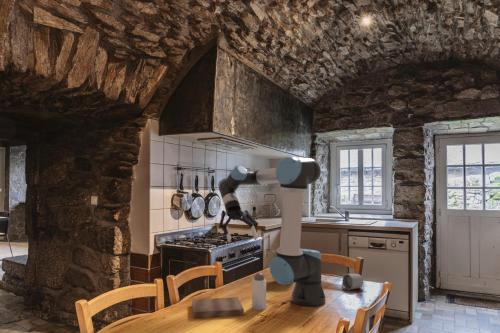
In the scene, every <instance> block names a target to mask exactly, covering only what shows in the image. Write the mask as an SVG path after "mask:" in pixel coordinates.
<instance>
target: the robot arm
mask: <svg viewBox="0 0 500 333" xmlns="http://www.w3.org/2000/svg"><path fill="white" fill-rule="evenodd" d="M321 169H322V168H321V166H320V164H319V163H318V161H316V160H315V159H313V158H309V157H300V156H299V157H298V156H286V157H284V158H282V159H281V160H280V161H279V162H278V164H277V166H276V167H274V168H266V169H257V170H248V169H247V168H245V167H244V166H242V165H235V167H233V169H232V170H230V173H229V175H228V176H227V177H224V178H221V180H219V181H218V183H217V185H218V191H219V193H220V196H221V199H222V203H223V206H224V208H225V210H224V209H223V210H222V211H221V214H220V216H221V218H220V220H219V225H218V228H217V229H219V230H220V229H221V231H223V234H224V235H226V239H227V242H229V243H230V242H231V240H232V235H231V232H230V228H229V226H228V225H229V224H230V222H231V221H241V222H243V223H245V224H246V225H247V226H248V227H250V231H251V233H252V236H253V237H252V238H253V239H254V241H257V239H258V237H259V236H258V229H257V227H258V225H259V222H258V221H257V220H256V219H255V218H254V217H253V216H252V215H251V214H250V213H249V211H248V210H247V209H246V210H244V211H243V210H242V206H241V204H240V202H239V199H238V196H237V194H236V191H237V190H238V189H239V187H240V186H242V185H243V186H245V185H246V186H248V185H249V186H261V185H268V184H279V183H280V189H281V190H282V192H283V194H282V206H281V207H282V210H281V224H280V226H281V227H280V241H279V247H277V249H275V250H276V257H273V258H272V259H271V260H270V262H269V273H270V276H272V278H273V280H274V281H275V282H276V283H278V285H279V284H280V285H291V284H293V283H295V284H294V287H293V290H292V293H291V301H292V302H293V304H296V305H298V306H302V307H303V306H304V307H319V306H323V305H325V304H326V294H325V292H324V288H323V285H322V261H323V260H322V253H321V252H320V251H319V250H315V249H307V248H301V235H302V220H303V208H304V207H303V204H304V194H305V192H306V191H307V190H308V185H312V184H314V183H315V182H317V181H318V180H319V179H320V178H321V175H322V174H321V173H322V170H321ZM226 216H227V217H228V218H227V219H226V221H225V217H226ZM224 221H225V223H224Z"/></svg>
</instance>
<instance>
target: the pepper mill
mask: <svg viewBox="0 0 500 333" xmlns="http://www.w3.org/2000/svg"><path fill="white" fill-rule="evenodd" d="M251 300H252V301H251V308H252V310H254V311H264V310H266V309H267V279H266V278H265V275H264V274H263V273H261V272H257V273H255V275H254V276H253V278H252V279H251Z"/></svg>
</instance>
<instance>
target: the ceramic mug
mask: <svg viewBox="0 0 500 333" xmlns="http://www.w3.org/2000/svg"><path fill="white" fill-rule="evenodd" d="M341 281H342V282H341V285H342V286H343V287H344V288H345V290H347V289H348V290H347V291H351V289H352V290H356V289H357V290H358V289H360V288H361V289H362V287H363V286H364V278H363V276H362V275H361V274H359V273H345V274H344V275H343V277H342V280H341Z"/></svg>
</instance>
